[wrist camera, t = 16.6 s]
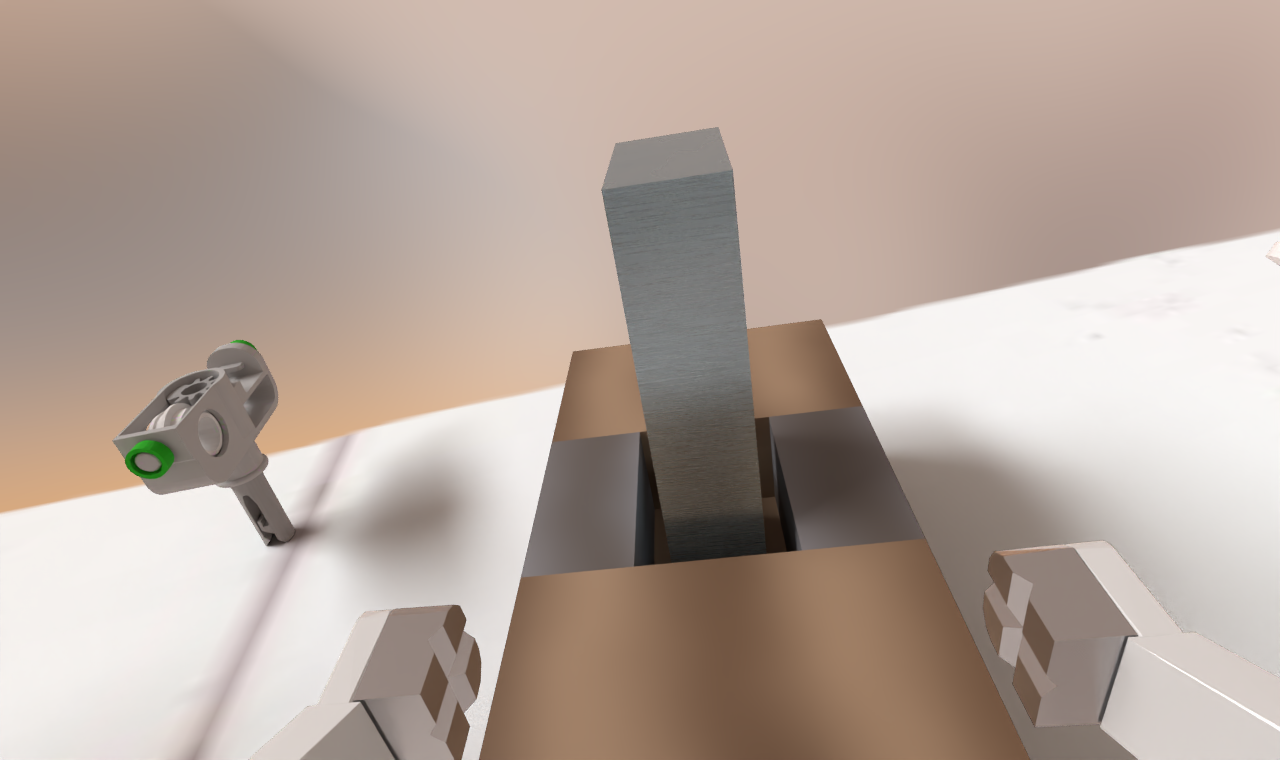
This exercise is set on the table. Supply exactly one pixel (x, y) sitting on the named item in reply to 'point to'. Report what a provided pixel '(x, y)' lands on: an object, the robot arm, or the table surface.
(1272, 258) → the tablet stand
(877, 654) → the brown boxy piece
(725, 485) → the tall rectangular metal block
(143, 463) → the mechanical component
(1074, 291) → the table surface
